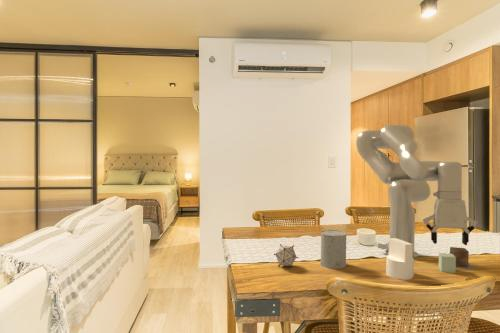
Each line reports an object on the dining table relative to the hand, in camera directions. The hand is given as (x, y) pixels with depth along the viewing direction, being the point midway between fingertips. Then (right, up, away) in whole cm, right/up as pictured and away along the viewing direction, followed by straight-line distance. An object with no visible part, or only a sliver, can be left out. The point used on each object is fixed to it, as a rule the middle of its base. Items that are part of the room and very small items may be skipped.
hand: (449, 243), depth 129 cm
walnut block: (+8, -10, +7) cm, 14 cm away
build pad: (+8, -10, +7) cm, 15 cm away
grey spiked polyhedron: (-58, -10, +6) cm, 59 cm away
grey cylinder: (-40, -10, +8) cm, 42 cm away
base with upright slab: (-19, -11, -3) cm, 22 cm away
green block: (0, -10, +1) cm, 10 cm away
